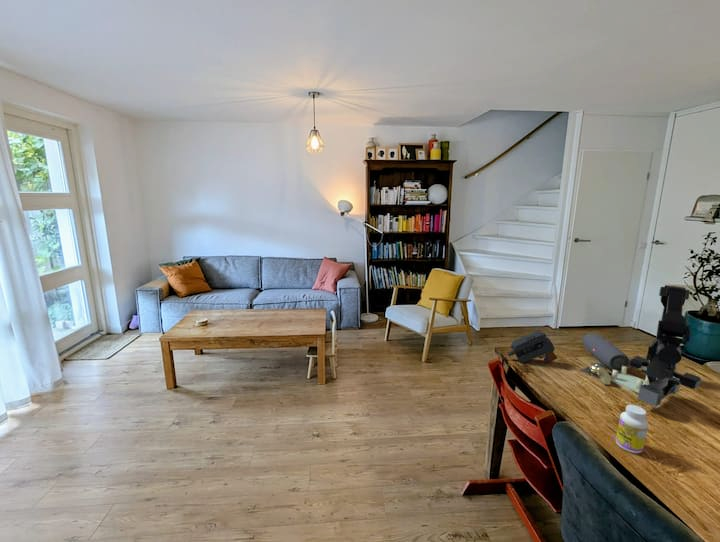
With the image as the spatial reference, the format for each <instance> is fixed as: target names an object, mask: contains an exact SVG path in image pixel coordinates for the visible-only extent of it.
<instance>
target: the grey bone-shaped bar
mask: <svg viewBox="0 0 720 542" xmlns="http://www.w3.org/2000/svg"><path fill="white" fill-rule="evenodd" d="M668 380H670V378H664V379H663V380H660V379H657V378H656V380H655V381H654V382H652V383H650V384H649V385H646V384H644V385H642V386H641V387H640V390H639V393H638V396H637V400H638V401H641V402H643V403H645V404H648V405H650V406H653V407H655V408H657V406H659V405H661V402H662V400H663V399H665V398H667V397H668V396H669V395H671V394H672V395H675V394H677V393H678V392H679V389H680V386H681V384H680V385H675V386H674V387H673V388H672V390H671V391H670V392H669V393H668V394H667V395H666V396H665V395H664V394H665V390H666V387H667V384H668Z"/></svg>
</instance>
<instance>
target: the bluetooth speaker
mask: <svg viewBox="0 0 720 542" xmlns="http://www.w3.org/2000/svg"><path fill="white" fill-rule="evenodd" d="M581 341H582V345H583V346H584V347H585V349H586V350H587V351H588V352H589V353H590V354H591V355H592V356H593V357H594V359H595V360H596V361H597V362H598V363H600V364H602V365H604V366H605V367H606V368H608V369H610V370H611V371H613V370H617V371H618V373H620V372H621V368H622V365H625V366H627V370H628V369H629V368H630V367H631V366H630V365H629V362H630V360H631V359H630V358H629V356H628V355H626V354H625V352H623V351H622V350H621V349H619V348H618V347H617V346H616V345H614V344H613V343H612V342H610V341H608V340H607V339H605V338H604V337H602V336H601V335H599V334H596V333H595V332H594V333H591V332H590V333H587V334H586V335H584V336H583V338H582V340H581Z"/></svg>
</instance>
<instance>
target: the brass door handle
mask: <svg viewBox="0 0 720 542" xmlns="http://www.w3.org/2000/svg"><path fill="white" fill-rule="evenodd" d="M588 367H589V371H590V372H592V373H594V374H597V375H598V377H599V378H600V379H599V380H601V382H602V383H603V385H611V381H610V380H611V377H612V376H610V375H609V374H608V372H609V371H607V369H608V367H605V366H604V365H602V364H601V363H600V362H591V363H589V366H588Z"/></svg>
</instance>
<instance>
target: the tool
mask: <svg viewBox="0 0 720 542" xmlns="http://www.w3.org/2000/svg"><path fill="white" fill-rule="evenodd" d="M509 348H510V349H511V350H510V351H508V352H507V355H508V357H510V356H513V355H515V357H516V359H517V360H518V362H519V363H521V364H522V363H525V362H529V361H531V360H533V359H536V358H538V359H543V360H544V362H545V364H549V363H551V362H553V361H556V360H557V358H558V357H557V355H556V354H555V346H554V344H553V342H552V341H551V339H550V338H549V337H547V335H546V333H545V332H544V331H543V332H542V331H541V330H536V331H534V332H532V333H529V334H526V335H524V336H522V337H519V338H517V339H514V340H513V341H512V342H511V345H509Z"/></svg>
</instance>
